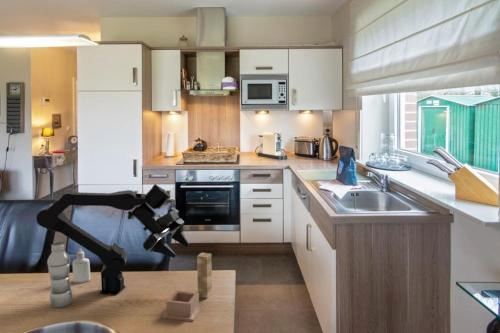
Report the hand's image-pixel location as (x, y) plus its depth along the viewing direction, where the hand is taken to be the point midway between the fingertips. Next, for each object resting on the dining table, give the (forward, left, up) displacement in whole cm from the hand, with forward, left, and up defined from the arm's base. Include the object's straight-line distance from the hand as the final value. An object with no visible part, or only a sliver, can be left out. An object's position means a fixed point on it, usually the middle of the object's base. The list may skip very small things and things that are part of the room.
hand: (182, 251), depth 136 cm
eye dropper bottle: (-39, +2, -15) cm, 42 cm away
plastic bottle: (-34, -16, -15) cm, 41 cm away
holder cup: (+5, -12, -15) cm, 20 cm away
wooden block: (+8, 0, -15) cm, 17 cm away
